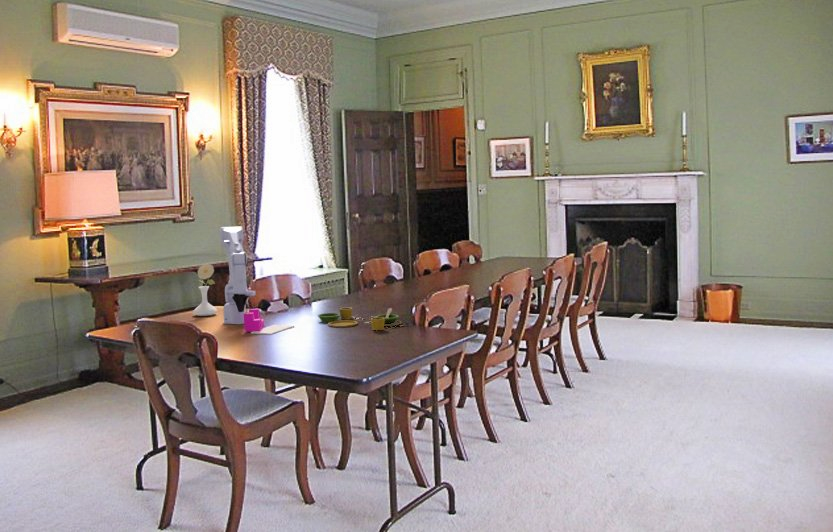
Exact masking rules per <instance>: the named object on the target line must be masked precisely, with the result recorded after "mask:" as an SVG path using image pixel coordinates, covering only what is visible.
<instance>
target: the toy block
mask: <svg viewBox="0 0 833 532" xmlns="http://www.w3.org/2000/svg"><path fill="white" fill-rule="evenodd" d="M243 315H244V323H243V325H244V332H245V333H249V332H250V333H251V332H253V331H260V330H261V329H263V328H265V320H264V318H261V317H260V308H250V309H249V312H246V313H244V314H243Z"/></svg>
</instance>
